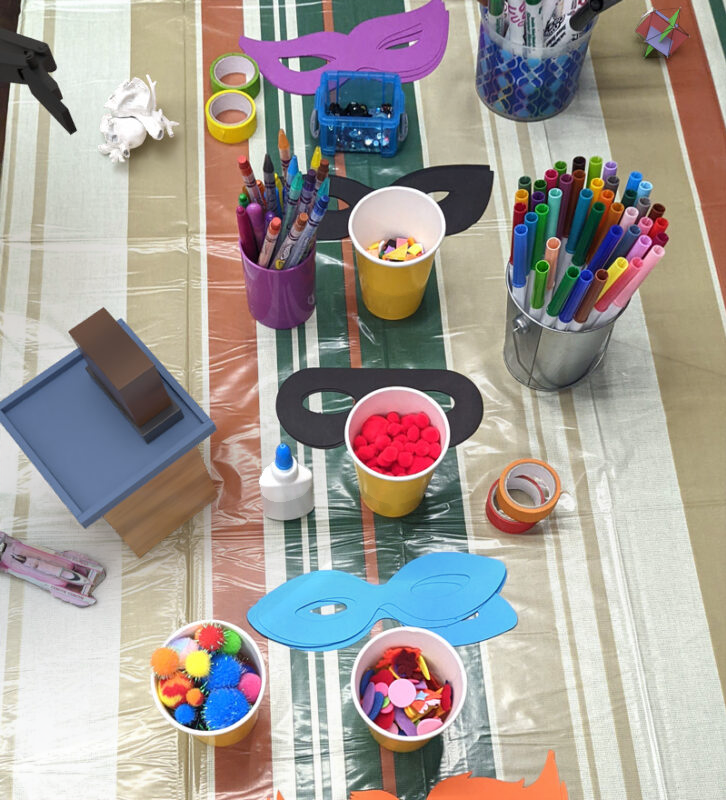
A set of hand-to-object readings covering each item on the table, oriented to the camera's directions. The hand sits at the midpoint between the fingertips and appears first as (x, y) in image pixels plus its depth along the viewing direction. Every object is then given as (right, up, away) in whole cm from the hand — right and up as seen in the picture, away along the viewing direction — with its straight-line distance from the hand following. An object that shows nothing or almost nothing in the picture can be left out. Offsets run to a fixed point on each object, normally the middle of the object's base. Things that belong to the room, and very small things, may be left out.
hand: (5, 161), depth 79 cm
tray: (+6, -23, +11) cm, 26 cm away
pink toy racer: (-5, -39, +26) cm, 47 cm away
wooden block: (+6, -30, +29) cm, 42 cm away
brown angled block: (+9, -20, +11) cm, 24 cm away
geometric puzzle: (+76, +36, +55) cm, 101 cm away
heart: (-1, +21, +49) cm, 53 cm away
